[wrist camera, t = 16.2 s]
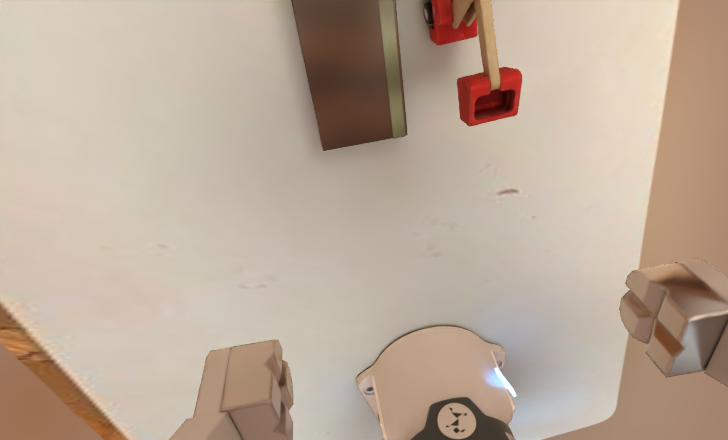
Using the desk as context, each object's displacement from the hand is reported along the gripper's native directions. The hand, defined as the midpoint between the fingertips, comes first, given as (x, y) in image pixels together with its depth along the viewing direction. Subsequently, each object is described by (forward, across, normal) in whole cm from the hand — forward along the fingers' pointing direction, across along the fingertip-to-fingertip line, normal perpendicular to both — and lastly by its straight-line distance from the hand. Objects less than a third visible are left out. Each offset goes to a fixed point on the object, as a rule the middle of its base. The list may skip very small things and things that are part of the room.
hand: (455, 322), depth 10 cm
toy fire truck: (+28, -8, -3) cm, 29 cm away
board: (+28, 0, -3) cm, 28 cm away
